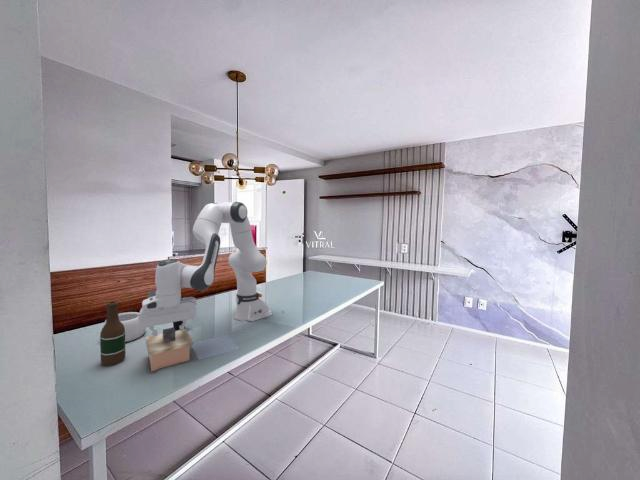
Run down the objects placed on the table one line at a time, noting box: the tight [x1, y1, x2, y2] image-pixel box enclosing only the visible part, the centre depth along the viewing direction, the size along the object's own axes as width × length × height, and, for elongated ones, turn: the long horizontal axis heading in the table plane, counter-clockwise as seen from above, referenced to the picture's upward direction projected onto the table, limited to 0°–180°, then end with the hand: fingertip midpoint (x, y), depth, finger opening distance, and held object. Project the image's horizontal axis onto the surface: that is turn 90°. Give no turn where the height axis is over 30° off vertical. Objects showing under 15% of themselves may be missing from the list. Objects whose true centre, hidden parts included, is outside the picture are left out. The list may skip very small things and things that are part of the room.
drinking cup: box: [172, 321, 186, 331], centre depth 131 cm, size 8×8×20 cm
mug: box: [102, 311, 147, 343], centre depth 120 cm, size 21×17×10 cm
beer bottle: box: [99, 301, 127, 367], centre depth 101 cm, size 8×8×24 cm
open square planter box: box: [148, 346, 190, 373], centre depth 105 cm, size 13×13×7 cm
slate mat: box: [191, 334, 240, 361], centre depth 116 cm, size 17×17×1 cm
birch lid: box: [145, 327, 194, 357], centre depth 104 cm, size 15×15×5 cm
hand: (168, 332), depth 104 cm, fingers open, 8 cm apart
